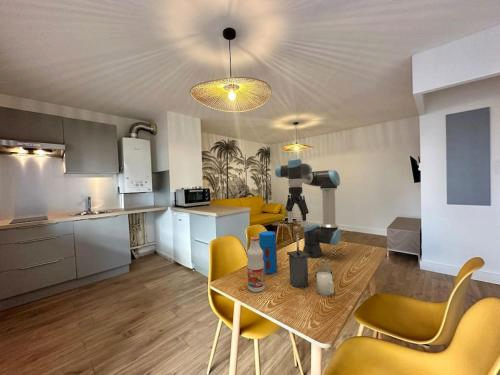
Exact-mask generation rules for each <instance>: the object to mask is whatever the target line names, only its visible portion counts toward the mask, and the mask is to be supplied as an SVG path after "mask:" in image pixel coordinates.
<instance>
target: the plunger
mask: <svg viewBox="0 0 500 375" xmlns="http://www.w3.org/2000/svg"><path fill="white" fill-rule="evenodd" d="M293 232H295V234H296V236H295V237H296V251H297V255H298V254H299V250H300V238H299V236H300V232H302V227H301V225H300V226H299V225H294V226H293Z"/></svg>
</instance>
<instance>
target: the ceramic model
mask: <svg viewBox="0 0 500 375" xmlns="http://www.w3.org/2000/svg"><path fill="white" fill-rule="evenodd" d="M318 272H328V273H330V274H332V282H333V283H334V281H335V275H334V271H333V269H332V267H331V265H330V264H329V263H328V261H326V260H323V261H322V263H320V265H319V266H318V268H317V269H316V270H314V276H313V279H314V280H315V281H316V282H317V273H318Z"/></svg>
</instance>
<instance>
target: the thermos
mask: <svg viewBox="0 0 500 375" xmlns="http://www.w3.org/2000/svg"><path fill="white" fill-rule="evenodd" d="M258 237H259V245H260V247H261V249H262V250H263V261H264V272H265V275H267V276H269V275H270V276H272V275H274V274H276V273H277V272H278V260H277V259H278V258H277V257H278V256H277V254H278V253H277V234H276V232H275V231H272V230H271V231H269V230H265V231H260V232H259V233H258Z"/></svg>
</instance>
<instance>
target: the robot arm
mask: <svg viewBox="0 0 500 375" xmlns="http://www.w3.org/2000/svg"><path fill="white" fill-rule="evenodd" d="M274 174H275V177H277V178H286V179H287V180H288V182H287V184H288V195H287V199H286V205H285V211H287V222H288V224H289V223H294V218H293V217H294V215H293V214H294V213H293V209H294V205H297V207H298V209H299V212H300V227H301V228H303V240H304V241H303V243H304V245H303V248H302V251H303V252H305V253H307V254H309V255H310V257H308V258H309V259H310V258H311V259H317V258H322V257H323V255H324V253H323V250H322V247H321V244H326V245H330V246H331V245H332V246H337V245H339V243H340V242H341V236H342V231H341V229H340V228H339V226H338V225H337V222H336V190H337V189H338V187H339V186H340V184H341V179H340V178H341V177H340V175H339V173H338V171H337V170H335V169H333V170H331V169H330V170H329V169H328V170H315V171H313V167H312V166H311V165H310V164H308V163H305V162H304V163H303V162H302V159H301V158H291V159H290V158H289V159H288V160H287V164H285V165H277V166H276V167H275V169H274ZM303 184H304V185H307V186H312V187H319V189H320V190H321V191H322V194H321V195H322V224H321V225H319V224H316V223H315V224H308V225H307V214H309V213H310V212H309V209H308V208H309V207H308V206H307V202H306V198H305V195H302V194H303V187H302V186H303Z"/></svg>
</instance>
